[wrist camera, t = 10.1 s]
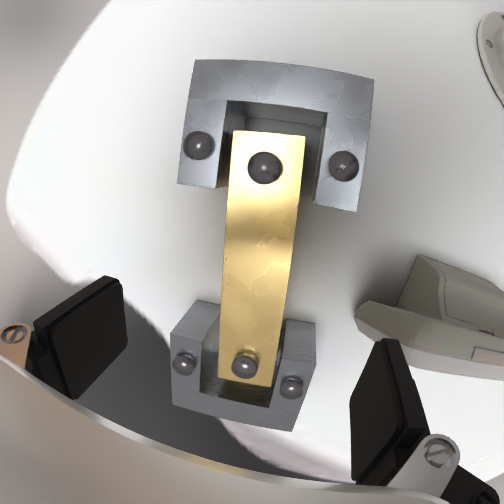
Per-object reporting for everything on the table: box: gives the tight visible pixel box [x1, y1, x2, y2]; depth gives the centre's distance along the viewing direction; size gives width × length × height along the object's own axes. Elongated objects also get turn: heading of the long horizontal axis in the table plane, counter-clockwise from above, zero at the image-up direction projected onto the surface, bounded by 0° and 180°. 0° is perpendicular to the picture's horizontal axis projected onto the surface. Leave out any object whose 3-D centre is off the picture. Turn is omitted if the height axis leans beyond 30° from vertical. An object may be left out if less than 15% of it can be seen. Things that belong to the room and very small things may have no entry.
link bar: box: [218, 131, 305, 387], centre depth 20 cm, size 4×17×6 cm, turn 175°
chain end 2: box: [170, 300, 316, 432], centre depth 22 cm, size 10×8×6 cm
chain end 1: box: [177, 60, 374, 212], centre depth 17 cm, size 10×8×6 cm
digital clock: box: [354, 255, 504, 381], centre depth 16 cm, size 16×9×11 cm, turn 64°
